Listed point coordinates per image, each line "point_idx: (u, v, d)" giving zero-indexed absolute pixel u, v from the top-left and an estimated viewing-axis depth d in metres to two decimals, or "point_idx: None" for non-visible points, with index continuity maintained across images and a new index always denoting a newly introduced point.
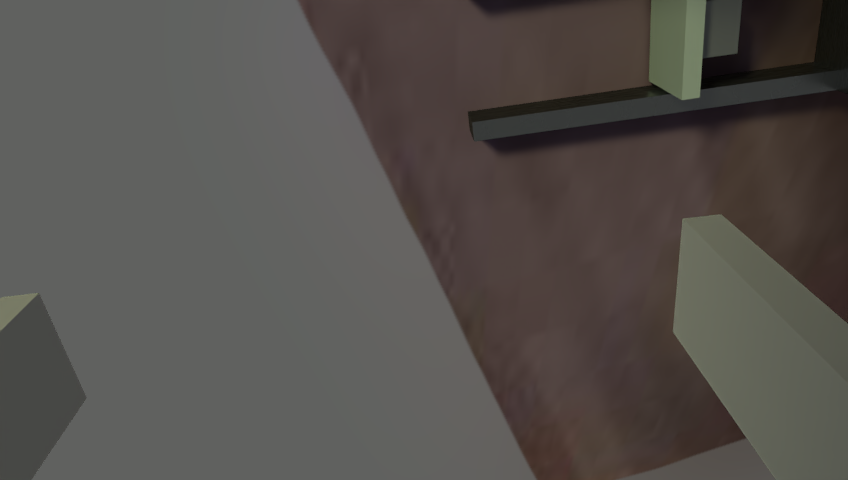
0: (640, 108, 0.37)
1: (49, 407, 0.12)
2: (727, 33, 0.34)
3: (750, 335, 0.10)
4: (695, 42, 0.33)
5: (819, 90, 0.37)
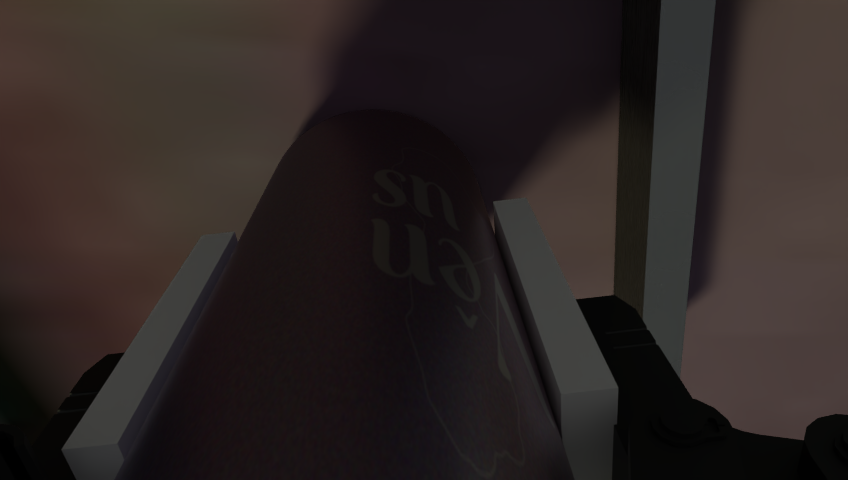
0: None
1: None
2: None
3: (515, 297, 0.12)
4: None
5: None
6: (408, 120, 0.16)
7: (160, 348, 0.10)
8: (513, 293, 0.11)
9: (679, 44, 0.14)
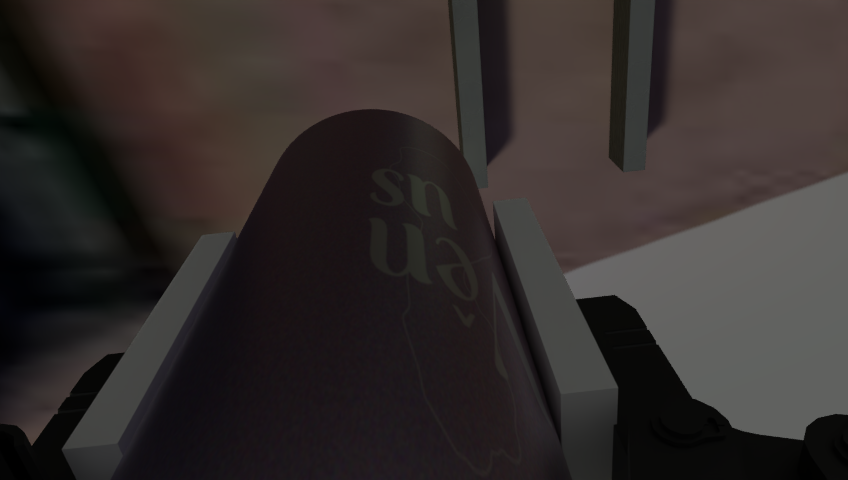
0: None
1: None
2: None
3: (515, 297, 0.12)
4: None
5: None
6: (406, 120, 0.16)
7: (160, 348, 0.10)
8: (511, 292, 0.11)
9: None
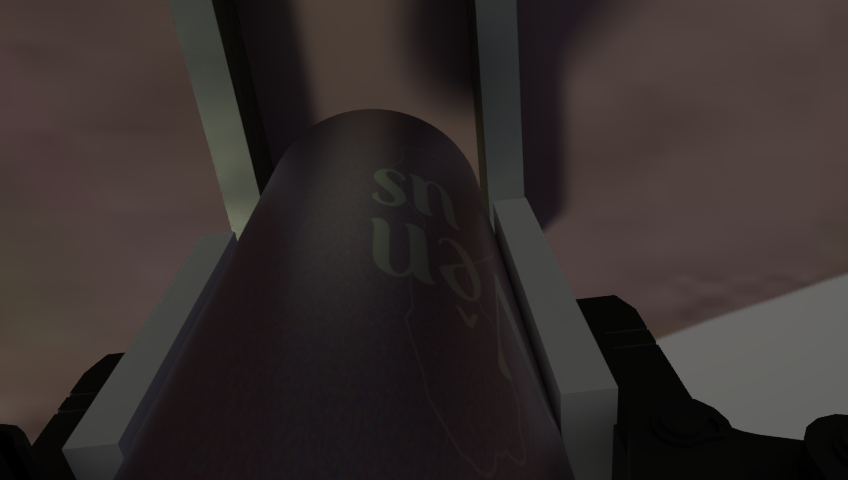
0: None
1: None
2: None
3: (515, 297, 0.12)
4: None
5: None
6: (408, 119, 0.16)
7: (160, 348, 0.10)
8: (513, 292, 0.11)
9: (194, 34, 0.18)
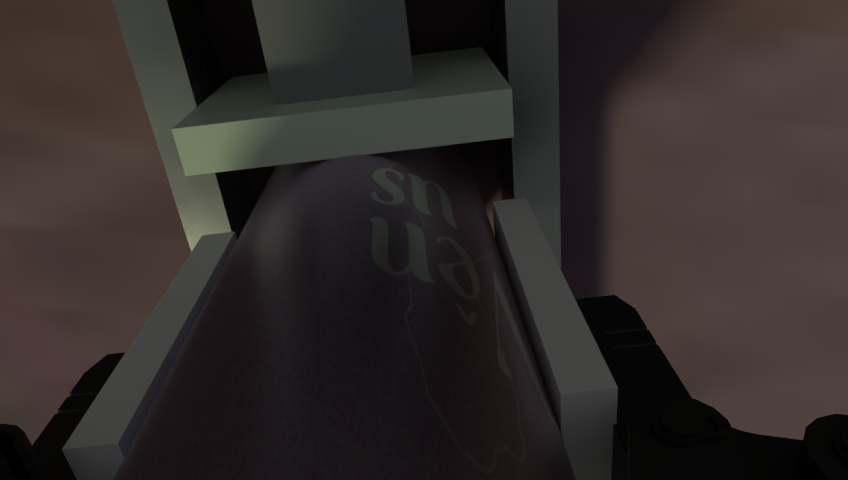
0: None
1: None
2: (346, 7, 0.12)
3: None
4: (362, 127, 0.12)
5: None
6: None
7: (161, 348, 0.10)
8: (512, 291, 0.11)
9: None
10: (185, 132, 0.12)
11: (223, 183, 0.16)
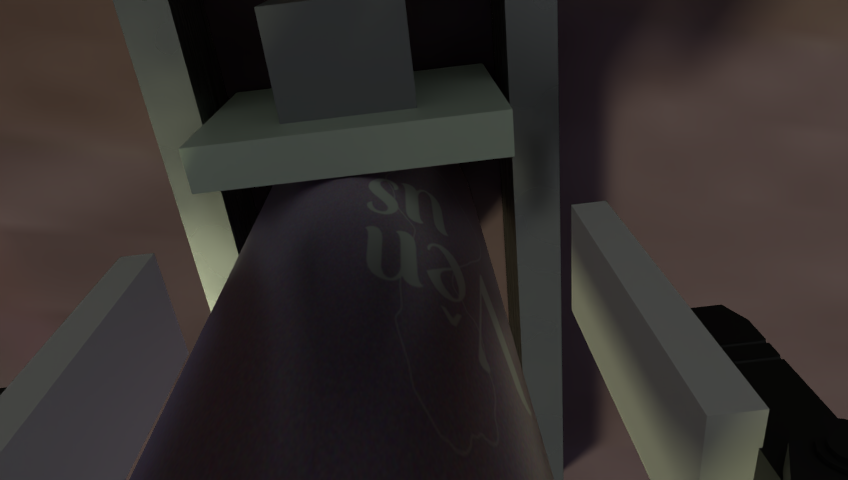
0: (540, 300, 0.18)
1: (164, 357, 0.13)
2: (350, 29, 0.13)
3: (610, 306, 0.11)
4: (365, 147, 0.13)
5: None
6: None
7: (42, 386, 0.09)
8: (499, 293, 0.12)
9: None
10: (192, 151, 0.13)
11: None
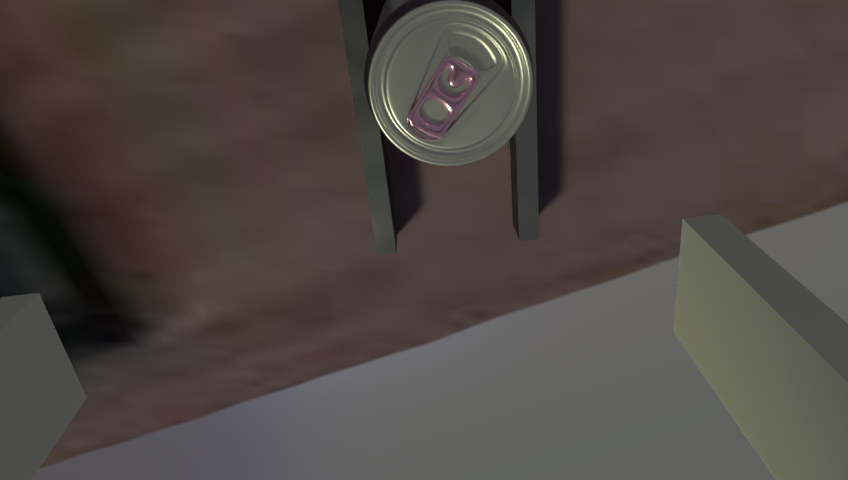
0: None
1: (49, 407, 0.12)
2: None
3: (750, 335, 0.10)
4: None
5: None
6: None
7: None
8: None
9: (360, 89, 0.33)
10: None
11: None
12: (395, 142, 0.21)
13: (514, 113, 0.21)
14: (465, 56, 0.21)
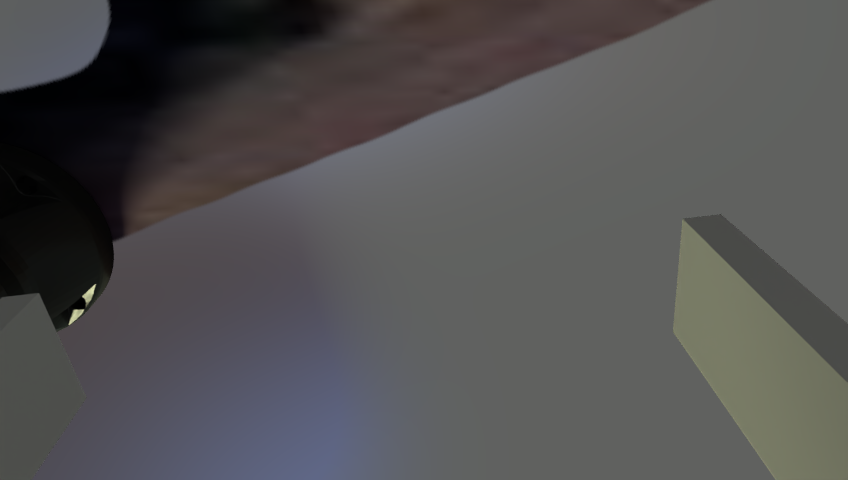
0: None
1: (49, 407, 0.12)
2: None
3: (750, 335, 0.10)
4: None
5: None
6: None
7: None
8: None
9: None
10: None
11: None
12: None
13: None
14: None
